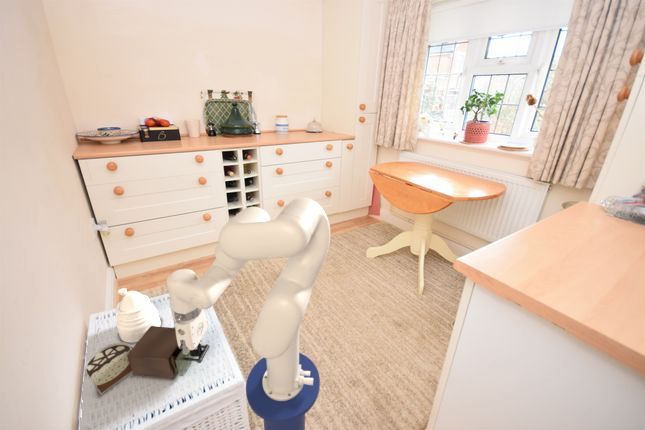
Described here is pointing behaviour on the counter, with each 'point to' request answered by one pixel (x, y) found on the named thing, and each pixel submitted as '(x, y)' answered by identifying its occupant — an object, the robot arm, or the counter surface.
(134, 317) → the honey pot
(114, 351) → the mint chocolate cake slice
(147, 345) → the cabinet
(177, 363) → the drawer
